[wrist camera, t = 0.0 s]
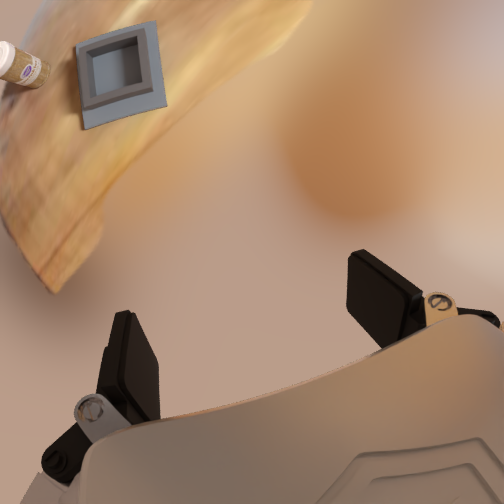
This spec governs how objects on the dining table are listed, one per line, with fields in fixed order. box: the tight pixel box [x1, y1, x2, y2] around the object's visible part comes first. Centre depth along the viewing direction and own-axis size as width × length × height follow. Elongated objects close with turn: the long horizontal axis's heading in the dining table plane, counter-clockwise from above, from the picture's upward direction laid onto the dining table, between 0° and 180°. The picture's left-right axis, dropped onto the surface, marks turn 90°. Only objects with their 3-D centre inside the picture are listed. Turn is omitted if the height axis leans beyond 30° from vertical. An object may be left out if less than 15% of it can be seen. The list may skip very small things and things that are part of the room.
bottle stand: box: [76, 20, 167, 130], centre depth 27 cm, size 14×12×4 cm
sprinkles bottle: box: [0, 41, 50, 88], centre depth 19 cm, size 5×4×14 cm
